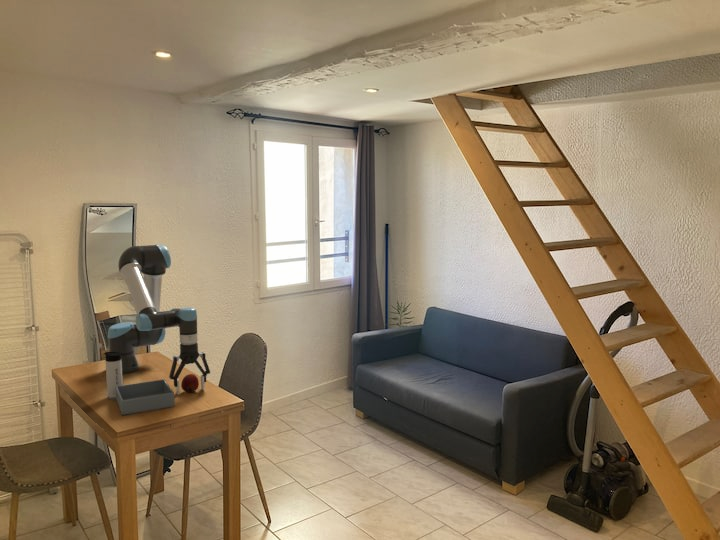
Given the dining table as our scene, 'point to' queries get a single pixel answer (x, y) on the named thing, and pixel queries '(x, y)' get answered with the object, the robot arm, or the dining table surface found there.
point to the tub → (144, 397)
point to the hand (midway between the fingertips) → (190, 391)
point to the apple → (190, 383)
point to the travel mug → (113, 373)
